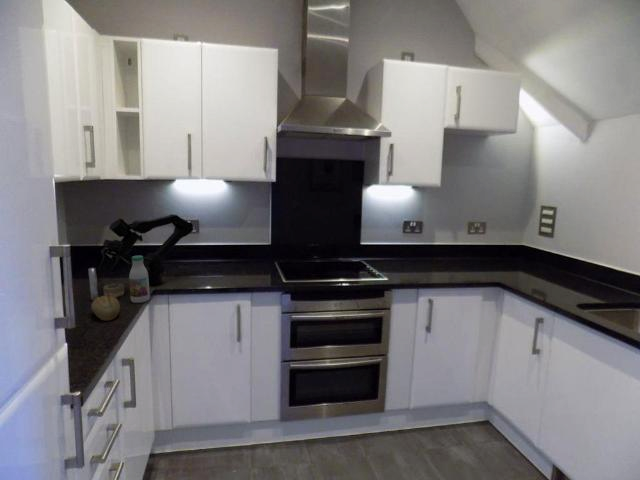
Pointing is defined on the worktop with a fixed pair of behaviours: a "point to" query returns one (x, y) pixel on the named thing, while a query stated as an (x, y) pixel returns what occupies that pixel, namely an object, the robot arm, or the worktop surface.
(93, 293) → the steel peg
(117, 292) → the tan tape roll
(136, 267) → the milk bottle
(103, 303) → the bread roll
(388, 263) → the worktop surface
